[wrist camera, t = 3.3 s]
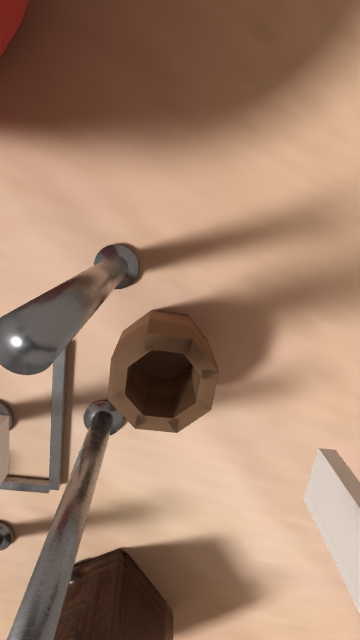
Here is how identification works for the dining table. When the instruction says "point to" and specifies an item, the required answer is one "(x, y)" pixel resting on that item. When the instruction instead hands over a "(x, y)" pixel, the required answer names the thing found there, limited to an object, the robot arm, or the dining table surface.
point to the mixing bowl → (10, 19)
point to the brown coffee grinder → (113, 603)
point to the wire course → (60, 426)
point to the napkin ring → (162, 395)
